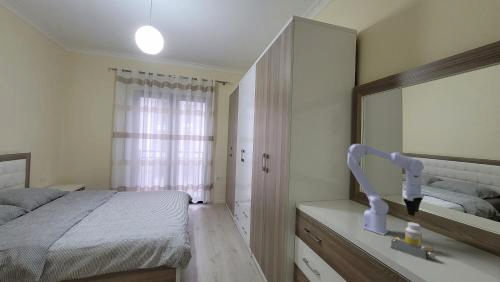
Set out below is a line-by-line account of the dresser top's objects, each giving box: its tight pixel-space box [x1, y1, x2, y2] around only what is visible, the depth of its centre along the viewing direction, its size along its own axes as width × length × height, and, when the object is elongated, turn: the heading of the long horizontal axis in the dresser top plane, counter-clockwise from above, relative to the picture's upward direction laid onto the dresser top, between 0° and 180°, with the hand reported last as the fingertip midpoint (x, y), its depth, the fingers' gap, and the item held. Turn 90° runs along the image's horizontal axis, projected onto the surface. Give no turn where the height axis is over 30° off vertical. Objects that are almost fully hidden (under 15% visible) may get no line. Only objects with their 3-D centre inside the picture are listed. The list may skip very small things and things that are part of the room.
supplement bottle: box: [404, 221, 423, 247], centre depth 89 cm, size 5×5×10 cm
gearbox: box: [390, 237, 436, 260], centre depth 83 cm, size 13×4×3 cm, turn 43°
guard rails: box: [395, 236, 434, 252], centre depth 88 cm, size 12×8×1 cm, turn 43°
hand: (413, 213), depth 100 cm, fingers open, 7 cm apart
